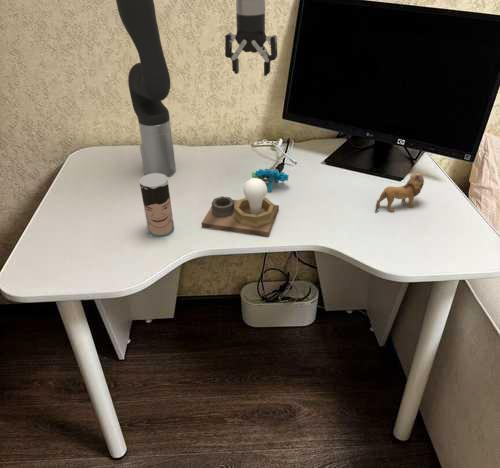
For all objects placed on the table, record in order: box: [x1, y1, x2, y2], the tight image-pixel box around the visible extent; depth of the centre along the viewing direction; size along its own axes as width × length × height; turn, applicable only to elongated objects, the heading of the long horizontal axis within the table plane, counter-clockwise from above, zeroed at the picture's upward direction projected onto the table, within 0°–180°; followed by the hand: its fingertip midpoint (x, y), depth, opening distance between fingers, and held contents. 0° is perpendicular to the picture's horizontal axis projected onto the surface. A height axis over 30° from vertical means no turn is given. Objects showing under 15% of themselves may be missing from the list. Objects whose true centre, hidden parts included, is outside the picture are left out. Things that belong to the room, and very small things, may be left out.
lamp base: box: [201, 196, 280, 238], centre depth 123 cm, size 18×13×4 cm
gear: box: [251, 168, 289, 193], centre depth 136 cm, size 11×6×10 cm
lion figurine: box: [374, 172, 425, 213], centre depth 126 cm, size 15×5×9 cm, turn 115°
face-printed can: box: [139, 173, 175, 239], centre depth 116 cm, size 7×7×15 cm
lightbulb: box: [243, 177, 268, 215], centre depth 120 cm, size 6×6×11 cm
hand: (251, 74), depth 130 cm, fingers open, 8 cm apart
